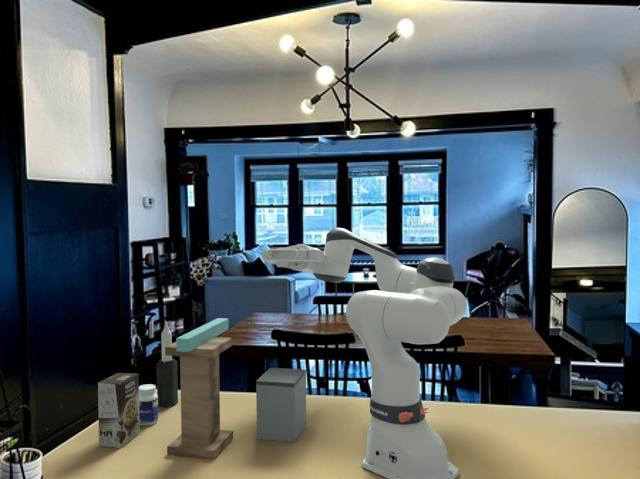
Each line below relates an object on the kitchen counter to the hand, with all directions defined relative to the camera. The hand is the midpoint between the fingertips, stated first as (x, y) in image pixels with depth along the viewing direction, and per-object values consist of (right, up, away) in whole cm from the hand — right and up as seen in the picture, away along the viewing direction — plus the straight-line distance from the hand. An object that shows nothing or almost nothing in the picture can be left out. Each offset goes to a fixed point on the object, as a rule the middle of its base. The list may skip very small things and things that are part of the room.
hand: (281, 252), depth 168 cm
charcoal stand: (+2, -46, -24) cm, 52 cm away
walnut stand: (-18, -47, -33) cm, 60 cm away
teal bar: (-17, -21, -31) cm, 41 cm away
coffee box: (-39, -47, -29) cm, 68 cm away
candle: (-34, -46, -3) cm, 57 cm away
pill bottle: (-36, -47, -17) cm, 61 cm away
